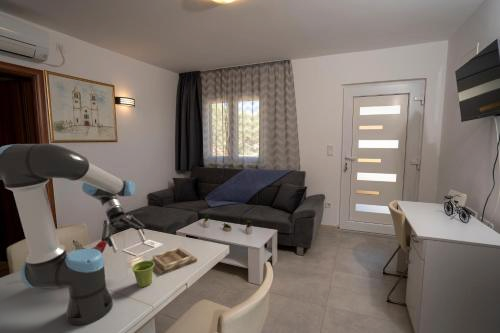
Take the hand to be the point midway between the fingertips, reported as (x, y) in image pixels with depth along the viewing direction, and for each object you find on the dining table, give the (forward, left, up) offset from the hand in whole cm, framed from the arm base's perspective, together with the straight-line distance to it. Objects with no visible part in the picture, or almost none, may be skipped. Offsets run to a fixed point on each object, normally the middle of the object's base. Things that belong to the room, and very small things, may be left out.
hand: (130, 246), depth 120 cm
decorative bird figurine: (-12, +32, -15) cm, 38 cm away
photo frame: (+15, +30, -16) cm, 37 cm away
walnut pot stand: (+20, -1, -15) cm, 25 cm away
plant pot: (+2, -11, -15) cm, 19 cm away
